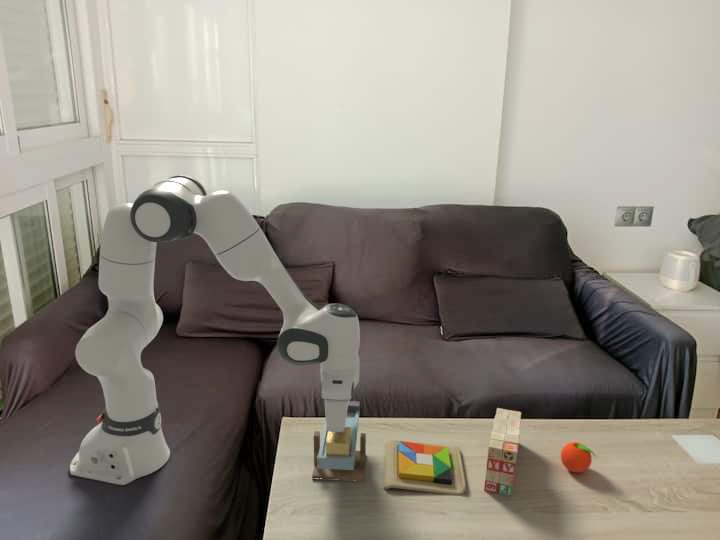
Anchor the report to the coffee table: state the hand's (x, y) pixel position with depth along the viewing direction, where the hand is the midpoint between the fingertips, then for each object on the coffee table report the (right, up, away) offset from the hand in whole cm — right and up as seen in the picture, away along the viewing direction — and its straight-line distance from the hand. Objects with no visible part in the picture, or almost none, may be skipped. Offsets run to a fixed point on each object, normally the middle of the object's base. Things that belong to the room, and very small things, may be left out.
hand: (339, 425), depth 133 cm
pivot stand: (0, -11, +4) cm, 12 cm away
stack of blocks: (+39, -11, +5) cm, 41 cm away
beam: (0, -3, +1) cm, 4 cm away
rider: (0, -5, -6) cm, 7 cm away
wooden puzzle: (+20, -12, +4) cm, 24 cm away
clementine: (+57, -12, +4) cm, 58 cm away
